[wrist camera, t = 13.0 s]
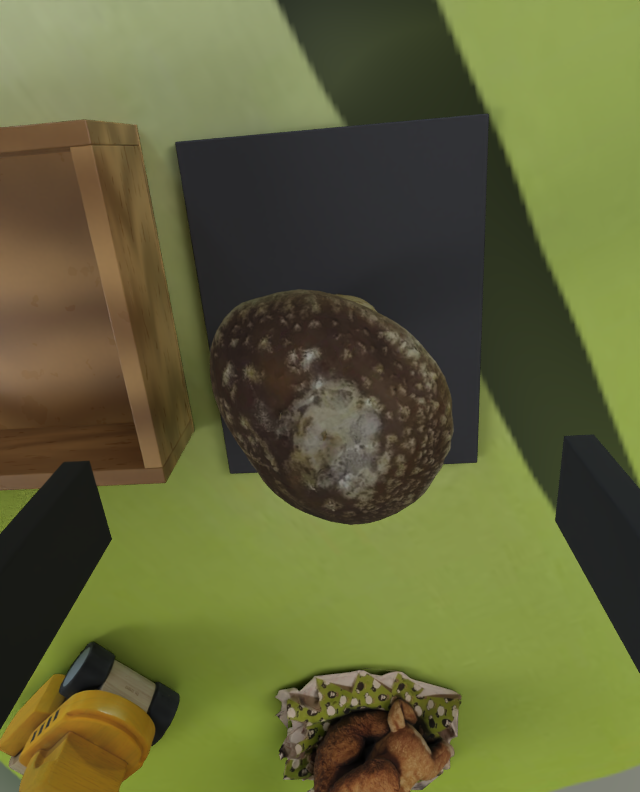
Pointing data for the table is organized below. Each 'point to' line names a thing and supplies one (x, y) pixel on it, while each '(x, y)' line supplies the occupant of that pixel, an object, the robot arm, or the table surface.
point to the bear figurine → (368, 732)
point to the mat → (352, 234)
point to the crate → (84, 311)
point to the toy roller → (88, 726)
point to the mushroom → (332, 403)
